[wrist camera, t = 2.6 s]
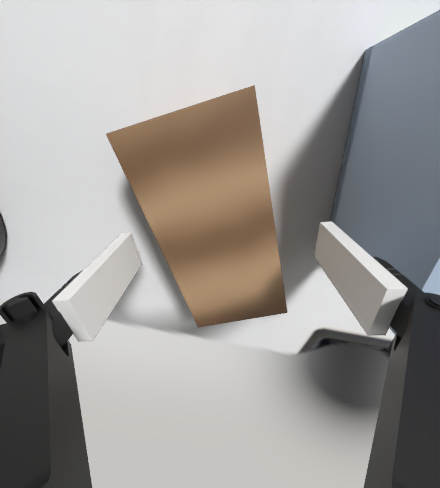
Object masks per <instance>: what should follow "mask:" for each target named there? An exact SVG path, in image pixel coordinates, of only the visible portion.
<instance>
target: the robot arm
mask: <svg viewBox="0 0 440 488" xmlns="http://www.w3.org/2000/svg"><path fill="white" fill-rule="evenodd" d="M4 247H5V230H4V225H3V222H2V219H1V216H0V256H1V254H2V252H3V250H4ZM314 257H315V259H316V260H317V262H318V263H319V265H320V266H321V267H322V269H323V270H324V272H325V273H326V275H327V276H328V278H329V279H330V281H331V282H332V284H333V285H334V287H335V288H336V289H337V291H338V292H339V294H340V295H341V297H342V298H343V300H344V301H345V303H346V304H347V306H348V307H349V309H350V310H351V311H352V313H353V314H354V316H355V317H356V319H357V320H358V322H359V323H360V325H361V326H362V328H363V329H364V331H365V332H366V334H367V335H386V333H387V331H388V329H389V327H390V326H391V327H392V329H393V330H394V331H395V332H396V335H395V337H394V339H393V341H392V343H391V344H390V346H389V348H388V350H390V351H391V354H390V359H389V364H388V369H387V374H386V379H385V384H384V389H383V394H382V399H381V404H380V409H379V414H378V419H377V424H376V429H375V434H374V439H373V444H372V449H371V454H370V460H369V464H368V469H367V474H366V479H365V484H364V488H440V295H438V294H433V293H425V292H423V291H422V290H421V289H420V288H418V287H417V286H416V285H415V284H414V283H412V282H411V281H410V280H409V279H408V278H406V277H405V276H404V275H401V273H400V272H399V271H398V270H397V269H395V268H394V267H393V266H392V265H391V264H389V263H388V262H387V261H385V260H383V259H381V258H379V257H372V256H370V255H369V254H368V253H367V252H366V251H365V250H364V249H363V248H361V247H360V246H359V245H358V244H357V243H356V242H355V241H353V240H352V239H351V238H350V237H349V236H348V235H347V234H345V233H344V232H343V231H342V230H341V229H340V228H339V227H338V226H336V225H335V224H334V223H333V222H332V221H331V222H320V225H319V231H318V237H317V242H316V248H315V254H314ZM141 265H142V264H141V261H140V258H139V254H138V251H137V248H136V245H135V242H134V239H133V236H132V233H121V234H120V235H119V236H118V237H117V238H116V239H115V240H114V241H113V242H112V243H111V244H110V245H109V246H108V247H107V248H106V249H105V250H104V251H103V252H102V253H101V254H100V255H99V256H98V257H96V258H95V259H94V260H93V261H92V262H91V263H90V264H89V265H88V266H87V267H86V268H85V269H84V270H82V271H81V272H79V273H77V274H76V275H74V276H73V277H72V278H71V279H70V280H69V281H68V282H67V283H66V284H64V285H63V286H62V288H61V289H59V290H58V291H57V292H56V293H55V294H54V295H53V296H52V297H51V298H50V299H49V300H48V301H47V302H46V303H44V304H43V303H42V301H41V300H40V298H39V297H38V295H37V294H36V293H34V292H28V293H23V294H20V295H17V296H15V297H13V298H11V299H9V300H8V301H6V302H4V303H3V304H2V305H1V306H0V315H1V316H2V318H3V319H4V320H5V321H6V322H7V323H6V324H2V325H0V488H92V483H91V477H90V470H89V463H88V456H87V450H86V443H85V436H84V429H83V423H82V416H81V409H80V403H79V396H78V389H77V382H76V375H75V368H74V362H73V355H72V348H71V344H70V342H69V341H68V339H69V338H70V337H71V336H72V334H74V336H75V337H76V339H77V340H78V341H93V340H94V338H95V337H96V335H97V334H98V332H99V331H100V329H101V327H102V326H103V324H104V323H105V321H106V320H107V318H108V316H109V315H110V313H111V312H112V310H113V309H114V307H115V305H116V304H117V302H118V301H119V299H120V298H121V296H122V295H123V293H124V291H125V290H126V288H127V287H128V285H129V284H130V282H131V280H132V279H133V277H134V276H135V274H136V273H137V271H138V269H139V268H140V266H141Z"/></svg>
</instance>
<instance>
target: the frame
mask: <svg viewBox="0 0 440 488" xmlns="http://www.w3.org/2000/svg"><path fill="white" fill-rule="evenodd" d="M331 221H332V222H333V223H334V224H335V225H336V226H338V227H339V228H340V229H341V230H342V231H343V232H344V233H345V234H347V235H348V236H349V237H350V238H351V239H352V240H353V241H355V242H356V243H357V244H358V245H359V246H360V247H361V248H363V249H364V250H365V251H366V252H367V253H368V254H369V255H370V256H372V257H379V258H381V259H383V260H385V261H387V262H388V263H389V264H391V265H392V266H393V267H394V268H395V269H397V270H398V271H399V272H400V273H401V275H404V276H405V277H406V278H408V279H409V280H410V281H411V282H412V283H414V284H415V285H416V286H417V287H418V288H420V289H421V290H422V291H423V292H425V293H433V294H438V295H440V10H439V11H437V12H435V13H433V14H431V15H430V16H428V17H426V18H424V19H422V20H420V21H418V22H417V23H415V24H413V25H411V26H409V27H407V28H405V29H404V30H402V31H400V32H398V33H396V34H394V35H392V36H391V37H389V38H387V39H385V40H383V41H381V42H379V43H378V44H376V45H374V46H372V47H370V48H368V49H366V50H365V55H364V60H363V65H362V69H361V74H360V79H359V84H358V89H357V93H356V98H355V103H354V108H353V113H352V118H351V122H350V127H349V132H348V137H347V142H346V147H345V151H344V156H343V161H342V166H341V171H340V176H339V180H338V185H337V190H336V195H335V200H334V204H333V209H332V214H331V219H330V222H331ZM389 328H390V329H391V330H392V332H393V333H394V334H395V335H396V332H395V331H394V330H393V329H392V327H391V326H390V327H389Z"/></svg>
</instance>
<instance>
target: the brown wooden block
mask: <svg viewBox="0 0 440 488" xmlns="http://www.w3.org/2000/svg"><path fill="white" fill-rule="evenodd" d="M106 135H107V137H108V139H109V142H110V144H111V146H112V148H113V150H114V152H115V154H116V156H117V158H118V160H119V162H120V165H121V167H122V169H123V171H124V173H125V175H126V177H127V179H128V181H129V183H130V186H131V188H132V190H133V192H134V194H135V196H136V198H137V200H138V202H139V204H140V207H141V209H142V211H143V213H144V215H145V217H146V219H147V221H148V223H149V225H150V227H151V230H152V232H153V234H154V236H155V238H156V240H157V242H158V244H159V246H160V248H161V251H162V253H163V255H164V257H165V259H166V261H167V263H168V265H169V267H170V269H171V271H172V274H173V276H174V278H175V280H176V282H177V284H178V286H179V288H180V290H181V292H182V295H183V297H184V299H185V301H186V303H187V305H188V307H189V309H190V311H191V313H192V315H193V318H194V320H195V322H196V324H197V326H198V327H203V326H209V325H215V324H221V323H227V322H233V321H240V320H246V319H252V318H258V317H264V316H270V315H276V314H282V313H287V307H286V300H285V293H284V286H283V279H282V272H281V265H280V258H279V251H278V244H277V237H276V230H275V224H274V217H273V210H272V203H271V196H270V189H269V182H268V175H267V168H266V161H265V154H264V147H263V140H262V133H261V127H260V120H259V113H258V106H257V99H256V92H255V85H254V86H251V87H248V88H245V89H242V90H239V91H236V92H232V93H229V94H226V95H223V96H220V97H217V98H214V99H211V100H208V101H205V102H202V103H199V104H196V105H193V106H190V107H187V108H184V109H181V110H177V111H174V112H171V113H168V114H165V115H162V116H159V117H156V118H153V119H150V120H147V121H144V122H141V123H138V124H135V125H132V126H129V127H125V128H122V129H119V130H116V131H113V132H110V133H107V134H106Z"/></svg>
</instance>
